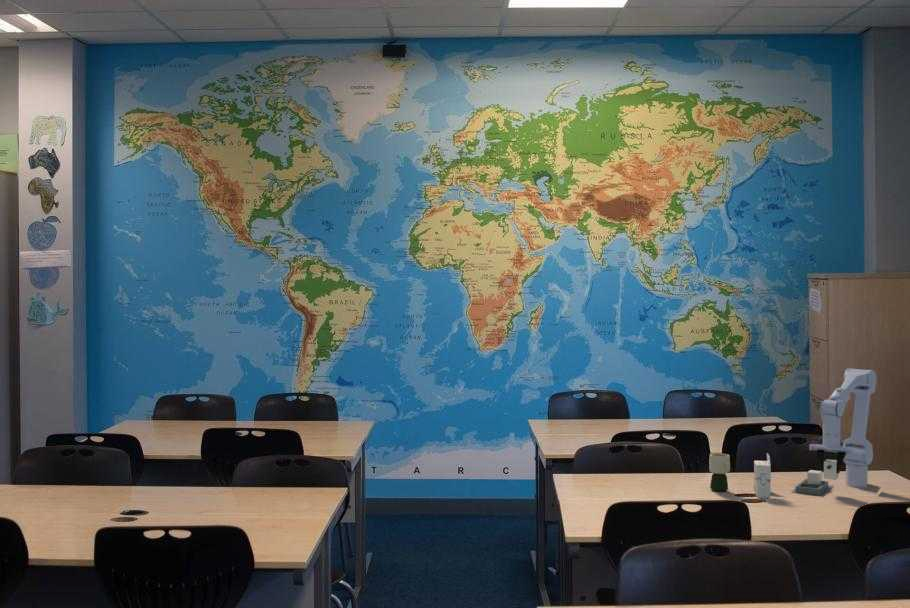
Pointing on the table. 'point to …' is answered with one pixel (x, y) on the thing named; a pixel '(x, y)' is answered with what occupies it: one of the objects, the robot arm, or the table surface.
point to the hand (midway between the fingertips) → (831, 472)
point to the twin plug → (814, 477)
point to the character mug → (719, 470)
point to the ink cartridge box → (762, 478)
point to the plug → (830, 469)
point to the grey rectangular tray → (812, 488)
